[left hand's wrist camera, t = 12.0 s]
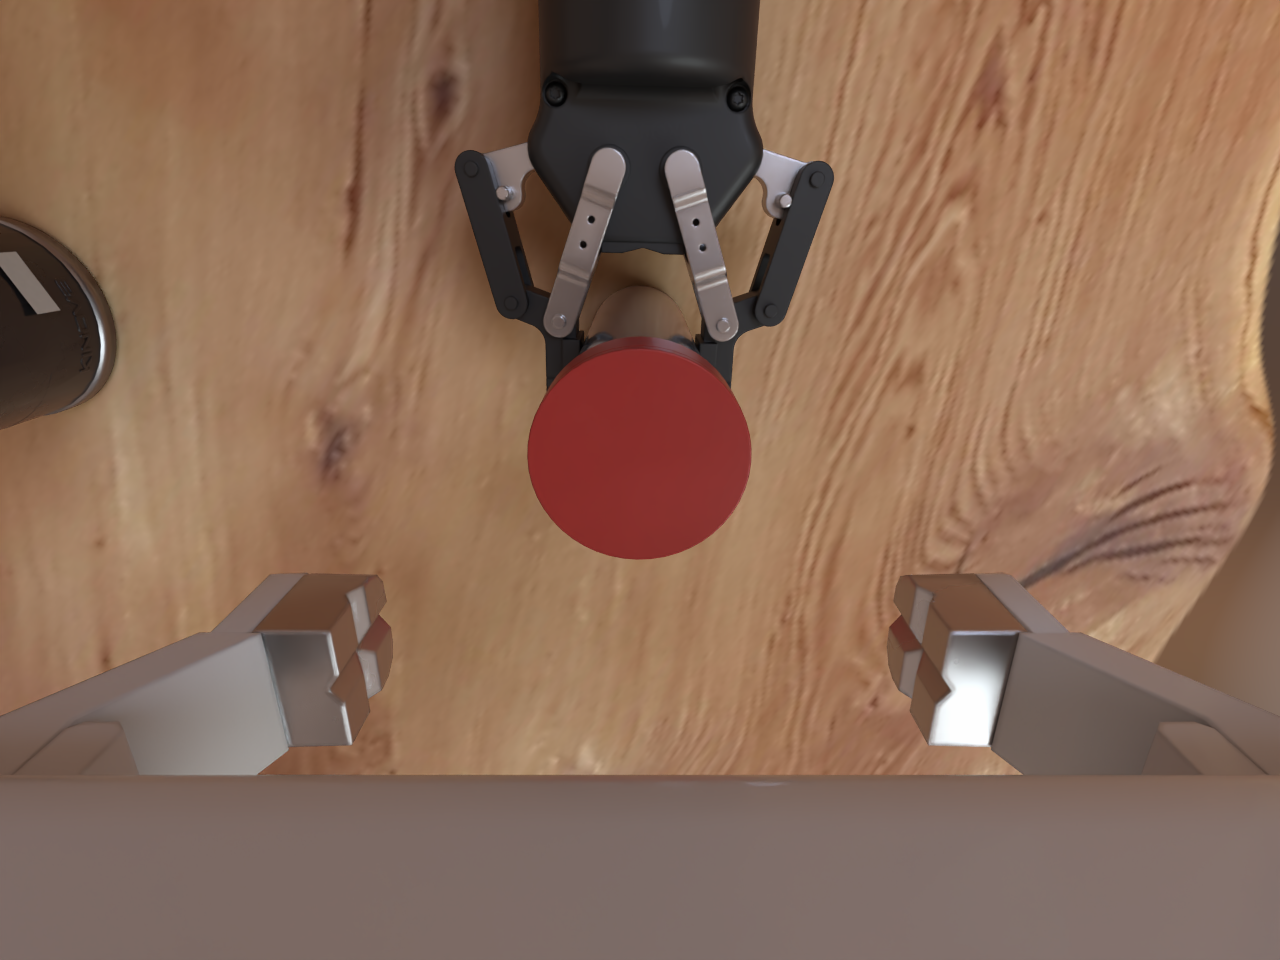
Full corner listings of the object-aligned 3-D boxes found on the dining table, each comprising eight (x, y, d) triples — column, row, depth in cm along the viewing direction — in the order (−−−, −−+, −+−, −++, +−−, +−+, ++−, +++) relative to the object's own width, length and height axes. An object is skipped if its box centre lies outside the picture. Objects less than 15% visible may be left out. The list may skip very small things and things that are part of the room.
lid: (527, 517, 19) (517, 544, 18) (547, 320, 17) (539, 330, 16) (720, 544, 19) (726, 573, 18) (762, 354, 17) (774, 367, 16)
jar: (586, 373, 35) (536, 525, 18) (598, 278, 33) (556, 347, 16) (677, 387, 35) (713, 550, 18) (694, 293, 33) (750, 377, 16)
